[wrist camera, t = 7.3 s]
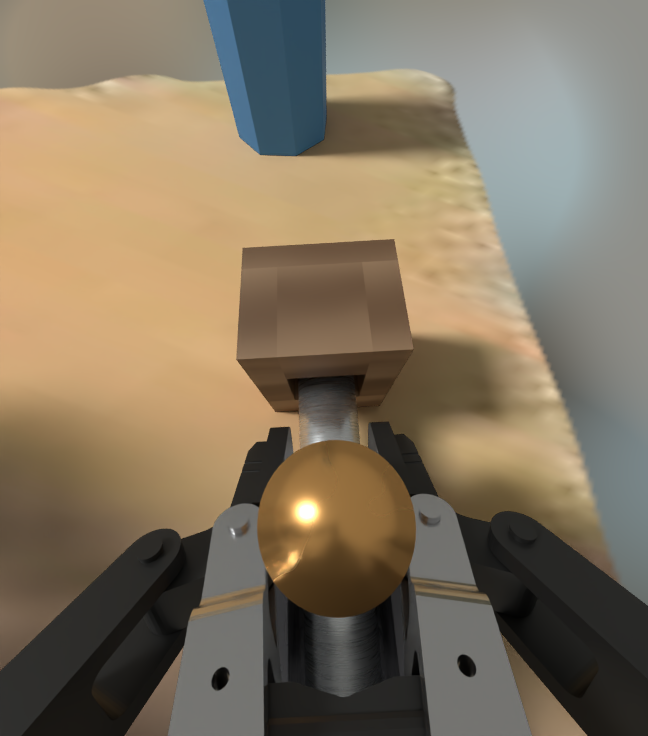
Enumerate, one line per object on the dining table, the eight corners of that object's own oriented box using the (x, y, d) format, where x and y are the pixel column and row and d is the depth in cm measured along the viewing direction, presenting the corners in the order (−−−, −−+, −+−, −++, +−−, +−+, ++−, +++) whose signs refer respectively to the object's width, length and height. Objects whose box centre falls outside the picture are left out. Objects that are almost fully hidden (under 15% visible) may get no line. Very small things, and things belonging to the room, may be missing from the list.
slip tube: (379, 673, 13) (528, 1254, 3) (307, 677, 13) (233, 1270, 3) (348, 340, 19) (367, 181, 9) (298, 343, 19) (263, 187, 9)
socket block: (379, 405, 20) (413, 349, 12) (275, 411, 20) (236, 359, 12) (370, 332, 22) (393, 239, 14) (276, 337, 22) (242, 248, 14)
